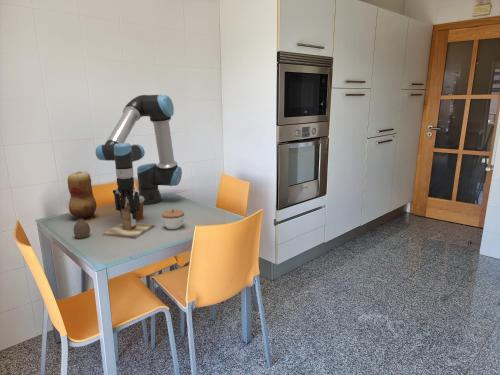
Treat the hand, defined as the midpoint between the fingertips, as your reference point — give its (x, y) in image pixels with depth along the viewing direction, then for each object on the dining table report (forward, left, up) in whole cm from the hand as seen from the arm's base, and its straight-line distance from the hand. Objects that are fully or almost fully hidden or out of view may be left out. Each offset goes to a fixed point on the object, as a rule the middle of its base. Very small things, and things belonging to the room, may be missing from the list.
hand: (129, 224), depth 171 cm
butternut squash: (-11, -36, -3) cm, 38 cm away
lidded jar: (-10, +18, -3) cm, 21 cm away
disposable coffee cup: (-16, -7, -3) cm, 18 cm away
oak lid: (0, 0, -3) cm, 3 cm away
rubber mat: (0, 0, -3) cm, 3 cm away
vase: (+13, -16, -3) cm, 21 cm away
